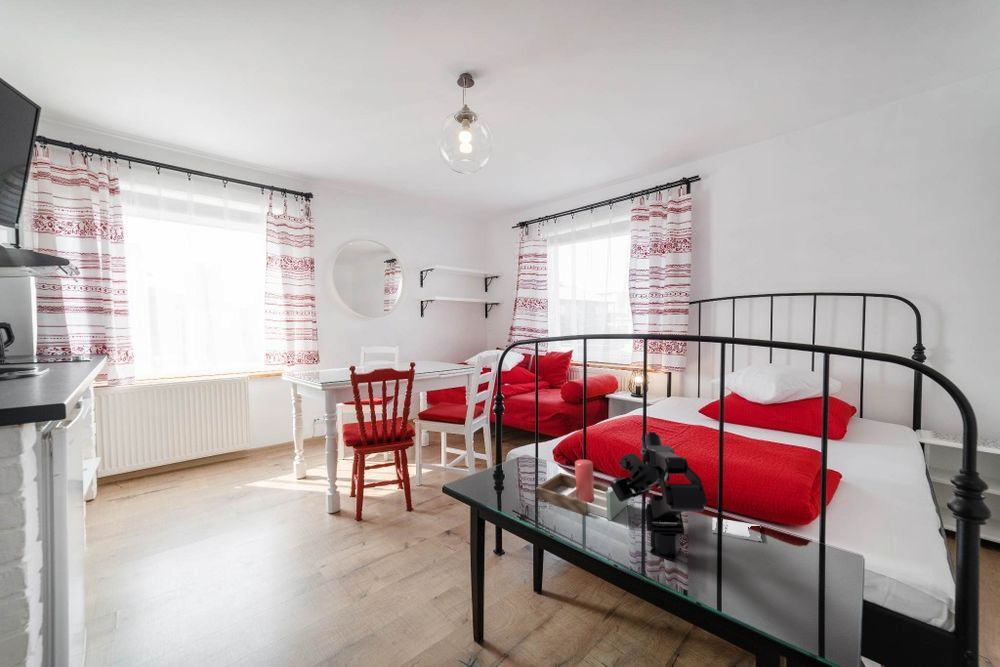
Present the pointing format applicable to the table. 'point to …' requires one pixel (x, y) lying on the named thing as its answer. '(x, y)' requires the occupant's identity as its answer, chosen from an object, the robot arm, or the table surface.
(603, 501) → the tray
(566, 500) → the drawer
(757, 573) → the table surface
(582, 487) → the pink cylinder
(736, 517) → the table surface
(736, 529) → the external hard drive
